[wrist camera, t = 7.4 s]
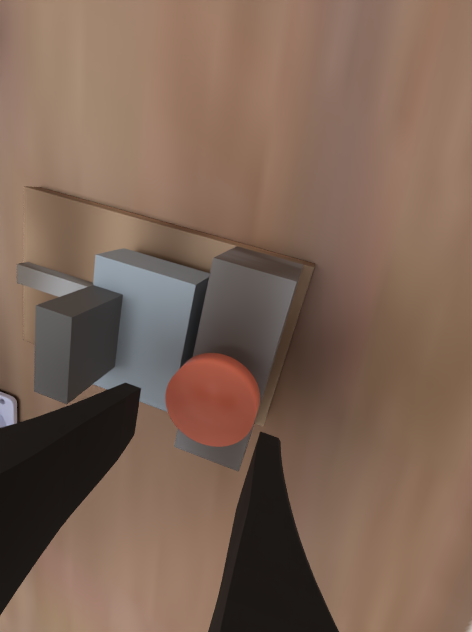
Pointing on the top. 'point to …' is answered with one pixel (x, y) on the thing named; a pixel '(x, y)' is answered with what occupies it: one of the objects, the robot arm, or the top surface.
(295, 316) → the rail bed
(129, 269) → the carriage
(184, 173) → the top surface
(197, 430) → the button
